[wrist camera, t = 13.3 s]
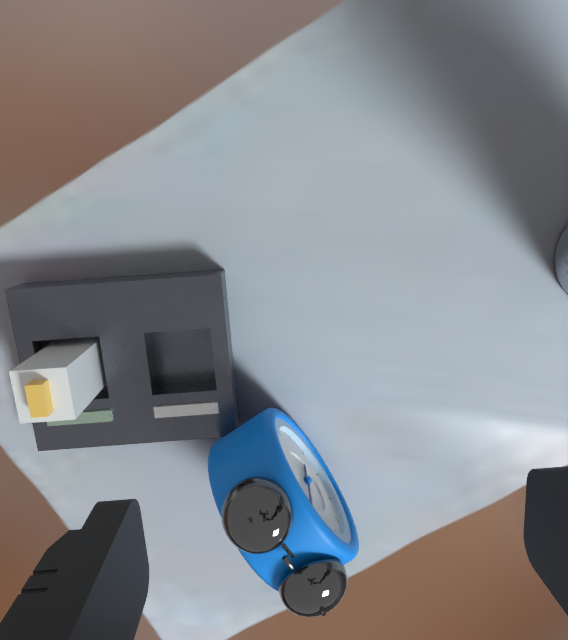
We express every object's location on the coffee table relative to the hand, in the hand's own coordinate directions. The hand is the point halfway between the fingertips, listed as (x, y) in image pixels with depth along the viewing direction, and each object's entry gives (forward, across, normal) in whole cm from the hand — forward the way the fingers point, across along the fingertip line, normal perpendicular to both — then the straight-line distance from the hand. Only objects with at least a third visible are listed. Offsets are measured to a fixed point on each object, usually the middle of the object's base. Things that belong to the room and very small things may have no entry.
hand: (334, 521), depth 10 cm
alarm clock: (+33, +1, +17) cm, 37 cm away
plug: (+33, +18, +6) cm, 38 cm away
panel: (+33, +14, +6) cm, 36 cm away
